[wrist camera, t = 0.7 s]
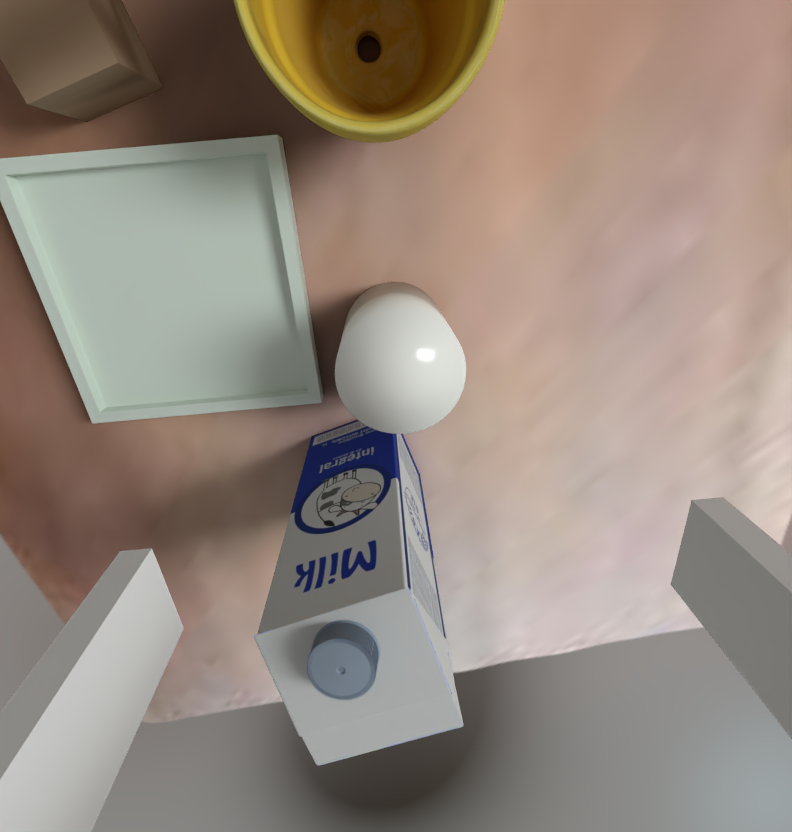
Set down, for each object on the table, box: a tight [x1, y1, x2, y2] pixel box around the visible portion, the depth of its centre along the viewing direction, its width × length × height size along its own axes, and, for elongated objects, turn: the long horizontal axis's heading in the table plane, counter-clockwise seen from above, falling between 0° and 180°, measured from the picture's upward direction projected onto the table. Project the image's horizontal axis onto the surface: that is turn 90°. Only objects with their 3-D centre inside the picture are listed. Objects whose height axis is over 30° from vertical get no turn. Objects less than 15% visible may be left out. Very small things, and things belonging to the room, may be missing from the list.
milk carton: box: [254, 420, 463, 765], centre depth 27 cm, size 7×7×20 cm
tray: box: [0, 135, 324, 423], centre depth 29 cm, size 17×17×2 cm
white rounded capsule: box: [335, 282, 466, 434], centre depth 28 cm, size 7×7×9 cm
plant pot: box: [233, 0, 505, 143], centre depth 21 cm, size 10×10×10 cm
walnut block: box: [0, 0, 163, 122], centre depth 22 cm, size 5×5×5 cm
